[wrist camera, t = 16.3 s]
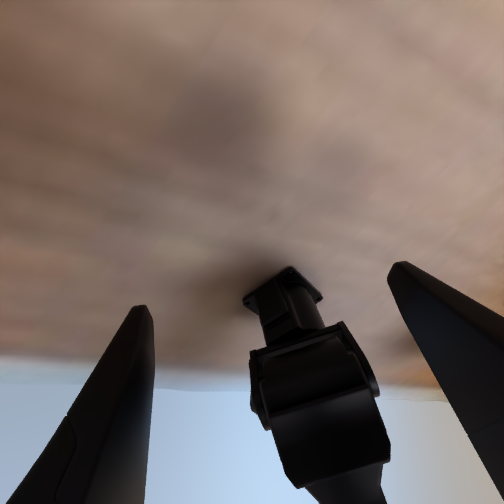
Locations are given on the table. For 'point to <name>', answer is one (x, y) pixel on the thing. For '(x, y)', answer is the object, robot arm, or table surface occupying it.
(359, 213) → the table surface
